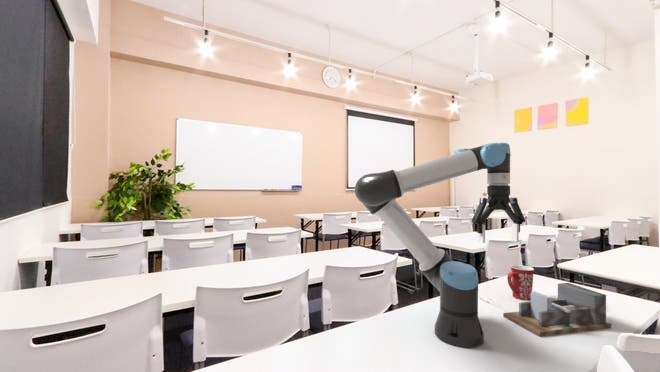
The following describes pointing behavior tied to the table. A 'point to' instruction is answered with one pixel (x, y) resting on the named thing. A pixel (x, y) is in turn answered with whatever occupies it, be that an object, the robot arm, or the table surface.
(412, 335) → the table surface
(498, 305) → the stylus pen
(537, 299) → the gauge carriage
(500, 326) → the table surface
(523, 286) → the mug
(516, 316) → the grey block structure
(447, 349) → the table surface
